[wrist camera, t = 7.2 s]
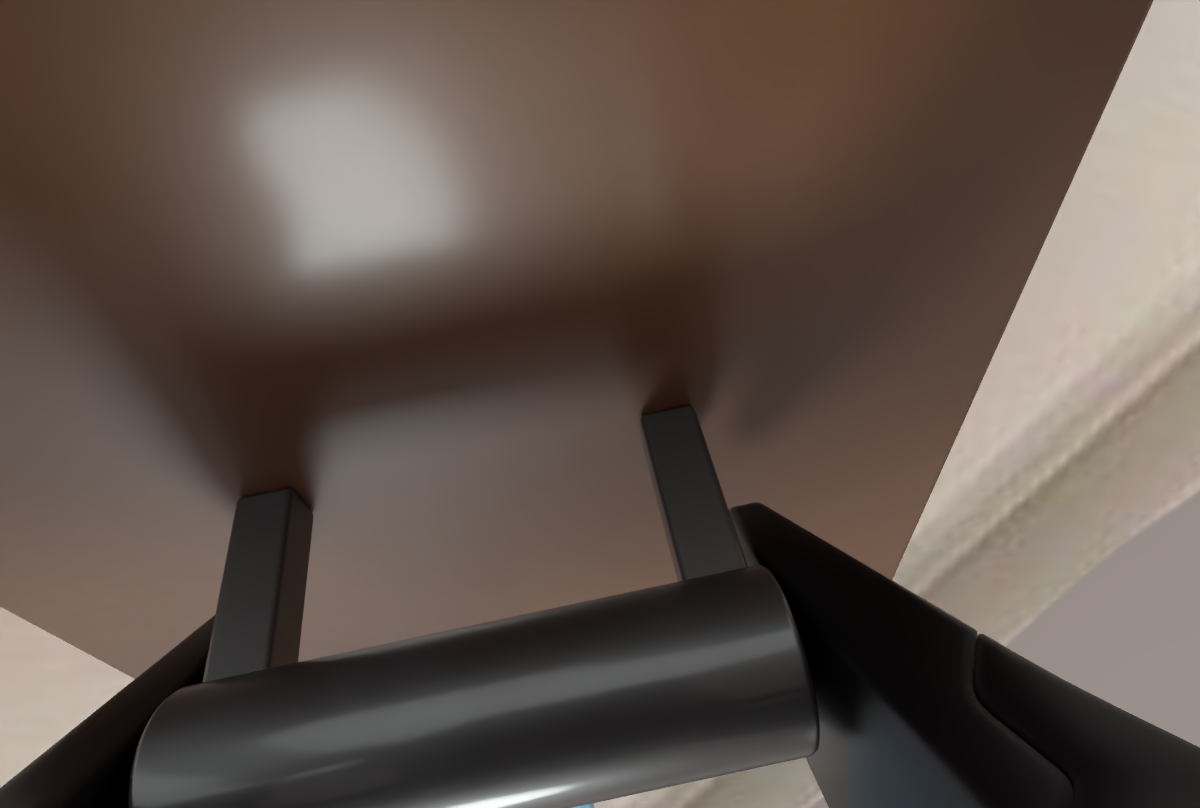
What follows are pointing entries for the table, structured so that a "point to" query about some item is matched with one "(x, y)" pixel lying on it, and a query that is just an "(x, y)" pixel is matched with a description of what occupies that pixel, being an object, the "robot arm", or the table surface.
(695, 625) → the lid
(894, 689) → the robot arm
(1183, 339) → the table surface
